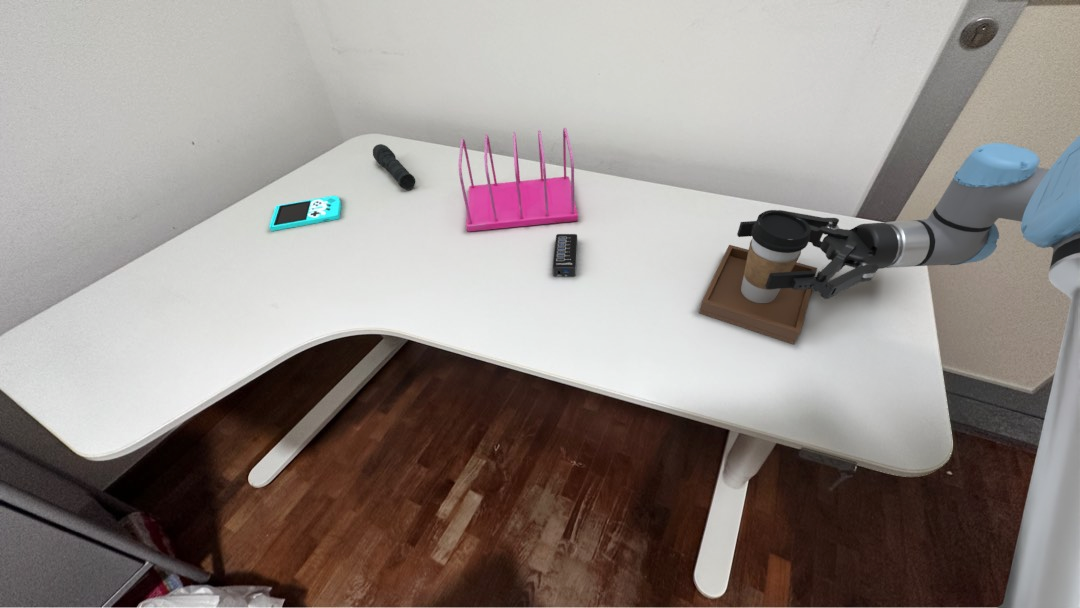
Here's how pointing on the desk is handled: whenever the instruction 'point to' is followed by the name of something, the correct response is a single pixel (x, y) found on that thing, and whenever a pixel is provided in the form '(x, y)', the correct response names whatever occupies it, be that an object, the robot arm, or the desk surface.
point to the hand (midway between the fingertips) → (752, 253)
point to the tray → (763, 318)
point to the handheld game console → (305, 213)
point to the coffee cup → (772, 251)
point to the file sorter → (519, 195)
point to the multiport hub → (565, 255)
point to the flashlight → (393, 166)
